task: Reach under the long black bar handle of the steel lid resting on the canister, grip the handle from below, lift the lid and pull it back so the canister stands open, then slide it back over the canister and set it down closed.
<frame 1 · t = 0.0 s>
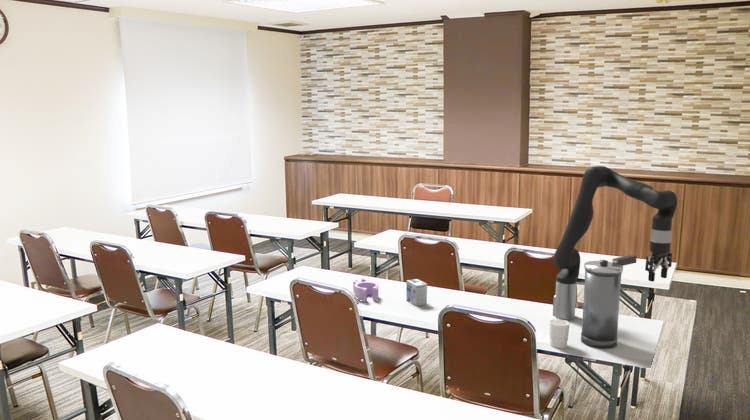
hand: (657, 279, 241), 29 cm above the table, tool pointing down, fingers open, 8 cm apart
canister: (598, 342, 253), on the table
clip: (364, 296, 316), on the table
light bulb box: (416, 302, 306), on the table
lid: (603, 268, 247), point 32 cm above the table, touching canister
white cup: (558, 345, 249), on the table
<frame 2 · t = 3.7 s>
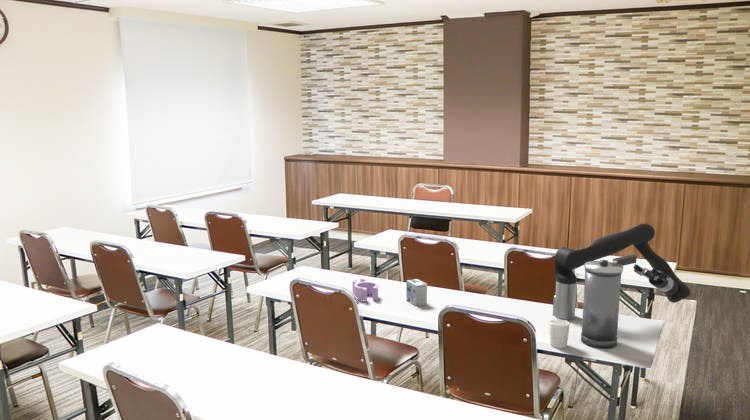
hand: (643, 268, 263), 28 cm above the table, tool pointing upward, fingers open, 8 cm apart
nothing on the table moved.
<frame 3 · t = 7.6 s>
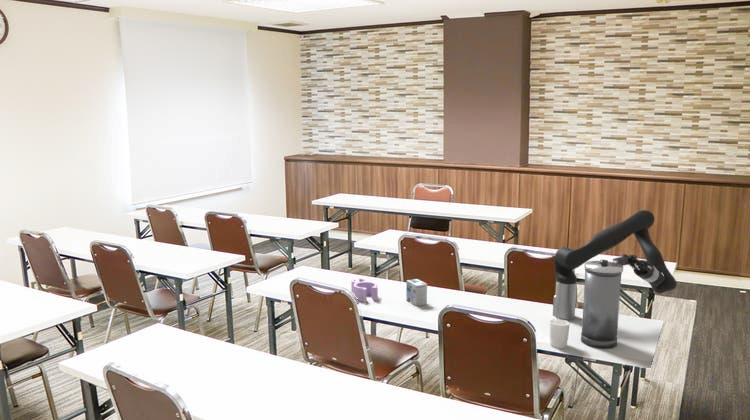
hand: (626, 257, 255), 35 cm above the table, tool pointing upward, fingers closed on lid, 2 cm apart
lid: (603, 268, 247), point 32 cm above the table, touching gripper, canister
everything else where it was.
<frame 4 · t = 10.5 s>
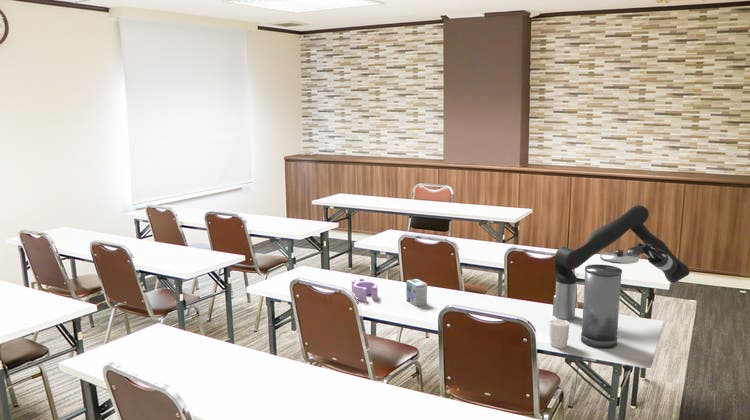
hand: (641, 245, 260), 39 cm above the table, tool pointing upward, fingers closed on lid, 2 cm apart
lid: (619, 258, 252), point 35 cm above the table, touching gripper
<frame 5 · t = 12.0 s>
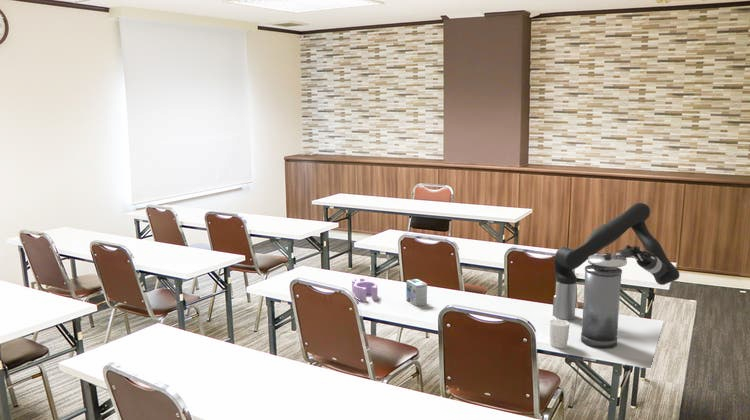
hand: (630, 247, 255), 39 cm above the table, tool pointing upward, fingers closed on lid, 2 cm apart
lid: (607, 262, 248), point 35 cm above the table, touching gripper
when the fingers open (36 cm above the table, at t = 13.6 s): lid stays where it is, resting on canister.
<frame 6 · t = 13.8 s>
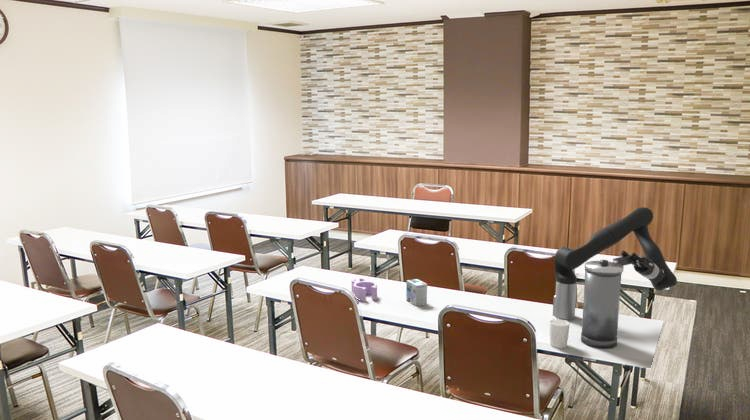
hand: (627, 253, 255), 36 cm above the table, tool pointing upward, fingers open, 4 cm apart
lid: (603, 268, 247), point 32 cm above the table, touching canister
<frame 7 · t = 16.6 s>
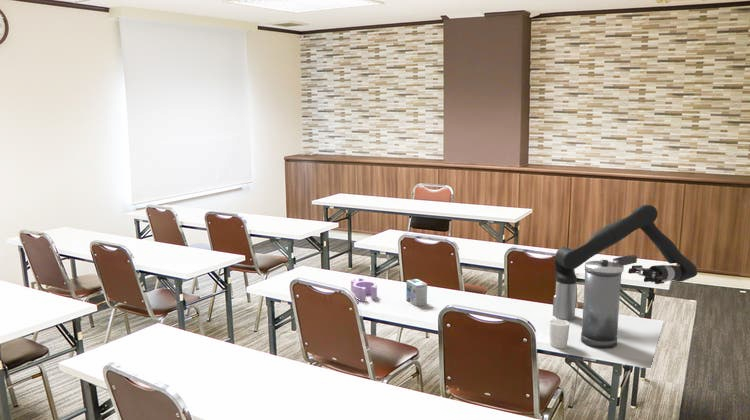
hand: (636, 275, 261), 26 cm above the table, tool horizontal, fingers open, 8 cm apart
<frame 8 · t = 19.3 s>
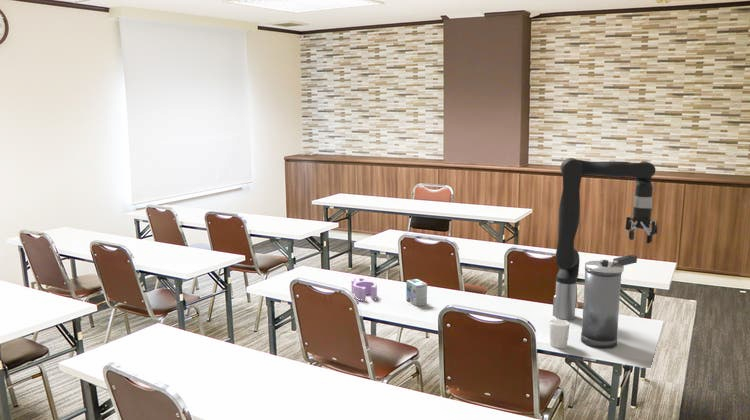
hand: (640, 241, 271), 38 cm above the table, tool pointing down, fingers open, 8 cm apart
at the end: lid 0.4 cm off-centre on the canister, point 32.0 cm above the canister's base; lid tilted 0°; the gripper is holding nothing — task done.
